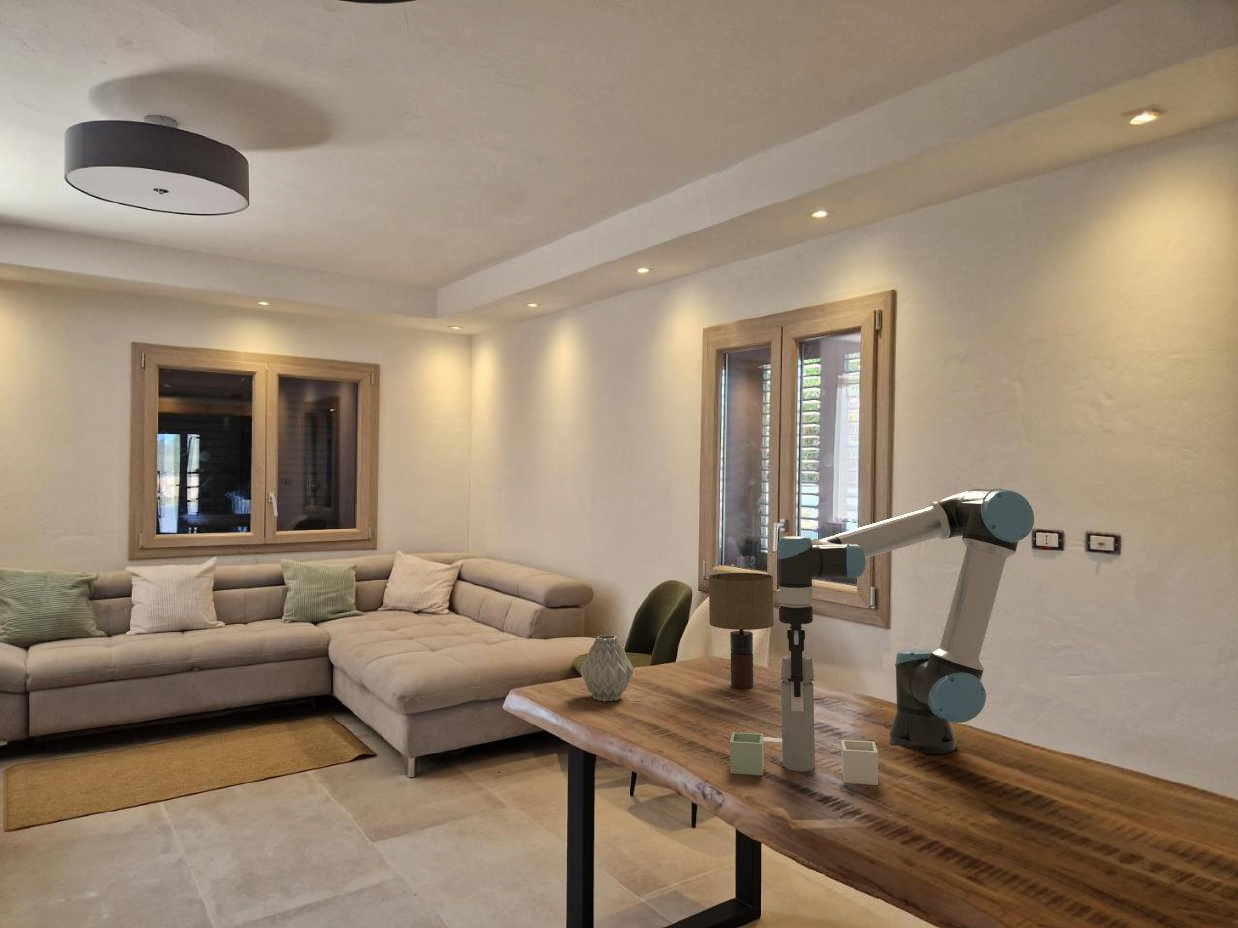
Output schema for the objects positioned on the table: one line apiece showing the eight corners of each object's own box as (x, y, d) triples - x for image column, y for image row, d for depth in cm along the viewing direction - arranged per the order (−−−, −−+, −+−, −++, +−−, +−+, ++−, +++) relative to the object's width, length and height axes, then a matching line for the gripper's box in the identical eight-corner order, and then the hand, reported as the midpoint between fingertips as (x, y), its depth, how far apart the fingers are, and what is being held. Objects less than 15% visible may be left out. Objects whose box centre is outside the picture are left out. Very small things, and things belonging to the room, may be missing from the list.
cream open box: (875, 778, 176) (874, 741, 176) (878, 790, 169) (877, 752, 169) (841, 776, 177) (841, 739, 177) (843, 788, 170) (843, 750, 170)
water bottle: (817, 776, 176) (815, 661, 177) (780, 774, 178) (778, 660, 179) (815, 762, 185) (813, 653, 186) (781, 760, 187) (779, 652, 188)
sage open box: (763, 769, 182) (763, 733, 182) (762, 780, 175) (762, 743, 175) (732, 767, 183) (732, 732, 183) (730, 778, 176) (729, 741, 177)
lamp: (739, 675, 269) (738, 571, 269) (787, 687, 253) (786, 576, 254) (697, 685, 256) (695, 576, 257) (744, 698, 240) (743, 581, 241)
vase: (574, 693, 248) (573, 633, 248) (624, 689, 253) (624, 630, 253) (588, 707, 232) (587, 643, 233) (641, 702, 237) (641, 639, 237)
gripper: (779, 597, 193) (781, 692, 193) (777, 611, 173) (779, 717, 172) (811, 598, 192) (813, 693, 191) (813, 612, 171) (815, 719, 171)
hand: (797, 704), depth 182 cm, fingers closed on water bottle, 8 cm apart
